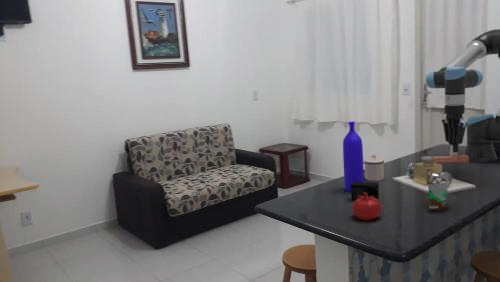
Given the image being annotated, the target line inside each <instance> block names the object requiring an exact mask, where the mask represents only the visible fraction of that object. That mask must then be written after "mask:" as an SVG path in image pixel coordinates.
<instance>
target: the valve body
mask: <svg viewBox="0 0 500 282" xmlns="http://www.w3.org/2000/svg"><path fill="white" fill-rule="evenodd" d="M405 174H406V175H407V176H409V177H412V178H414V182H417V183H420V184H422V185H425V186H429V184H431V181H432V180H433V176H438V177H443V178H446V179H447V180H448V182H449V185H450V184H451V182H452V179H453V177H452V174H451V172H450V173H449V172H447V171H443V164H441V163H438V162H432V163H423V162H422V161H421V162H418V163H415V162H410V163H409V164H407V165H406V167H405Z"/></svg>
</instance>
